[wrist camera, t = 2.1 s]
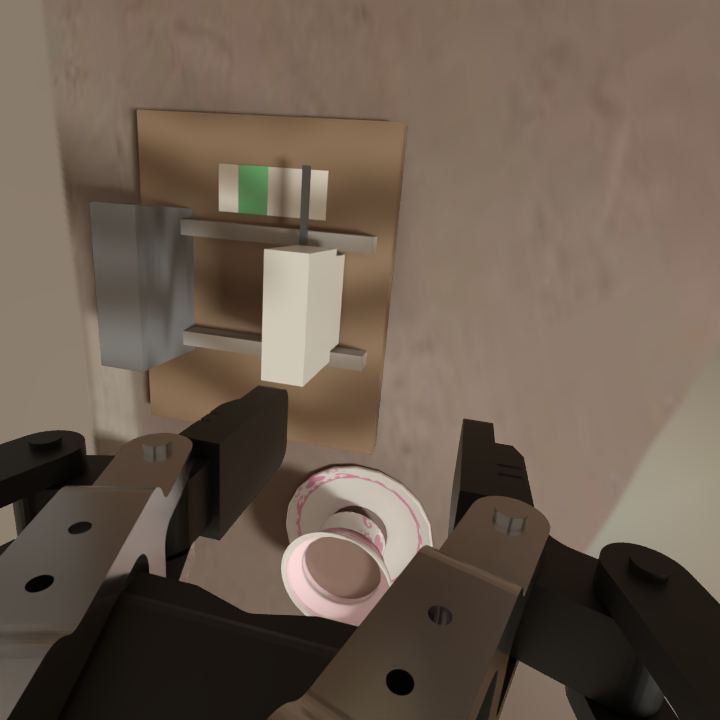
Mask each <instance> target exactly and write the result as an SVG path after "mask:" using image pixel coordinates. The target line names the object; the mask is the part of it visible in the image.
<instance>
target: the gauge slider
mask: <svg viewBox="0 0 720 720" xmlns="http://www.w3.org/2000/svg"><path fill="white" fill-rule="evenodd" d="M310 182H311V166H309V165H302V186H301V209H300V231H299V245H294V246H286V247H277V248H268V249H264V274H263V316H262V358H261V380H263V381H269V382H276V383H282V384H288V385H294V386H301V387H303V386H304V385H305V384H306V383H307V382H308V381H309V380H311V379H312V378H313V377H314V376H315V375H316V374H317V373H318V372H319V371H320V370H321V369H322V368H323V367H324V366H325V365H326V364H328V363H329V358H330V351H331V350H332V349H333V348H334V347H335V346H336V345H337V344H339V330H340V316H341V302H342V288H343V274H344V260H345V254H336V253H337V249H333V248H323V247H313V246H307V243H308V222H309V202H310Z"/></svg>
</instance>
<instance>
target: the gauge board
mask: <svg viewBox="0 0 720 720" xmlns="http://www.w3.org/2000/svg"><path fill="white" fill-rule="evenodd" d="M137 126H138V148H139V169H140V190H141V204H126V203H109V202H93V201H89V207H90V220H91V233H92V246H93V259H94V272H95V285H96V298H97V311H98V324H99V337H100V351H101V364H102V365H103V366H109V367H115V368H121V369H127V370H133V371H139V372H145V371H147V370H149V382H150V404H151V415H157V416H162V417H167V418H173V419H178V420H184V421H189V422H197V421H198V420H201V418H202V417H204V416H205V415H207V414H210V412H211V411H212V410H214V409H215V408H216V407H218V406H219V405H221V404H223V403H226V402H229V401H232V400H235V399H241V398H242V397H243V396H245V395H246V394H247V393H249V392H250V391H251V390H253V389H254V388H255V387H257V386H258V385H262V386H268V387H274V388H281V389H286V390H287V393H288V423H287V440H293V441H298V442H304V443H309V444H315V445H320V446H326V447H331V448H337V449H342V450H347V451H353V452H358V453H364V454H369V455H372V453H373V450H374V448H375V446H376V436H377V426H378V416H379V407H380V397H381V387H382V377H383V367H384V357H385V347H386V337H387V327H388V317H389V307H390V297H391V287H392V277H393V268H394V258H395V248H396V238H397V228H398V218H399V208H400V198H401V188H402V178H403V168H404V158H405V148H406V139H407V129H408V127H407V125H406V124H405V122H392V121H371V120H349V119H328V118H306V117H285V116H263V115H242V114H221V113H199V112H178V111H156V110H137ZM302 165H309V166H311V182H310V202H309V222H308V243H307V246H313V247H323V248H333V249H337V253H336V254H345V260H344V274H343V288H342V302H341V316H340V330H339V344H337V345H336V346H335V347H334V348H333V349H332V350H331V351H330V358H329V363H328V364H326V365H325V366H324V367H323V368H322V369H321V370H320V371H319V372H318V373H317V374H316V375H315V376H314V377H313V378H312V379H311V380H309V381H308V382H307V383H306V384H305V385H304V386H303V387H301V386H294V385H288V384H282V383H276V382H269V381H263V380H261V358H262V316H263V274H264V249H268V248H277V247H286V246H294V245H299V231H300V209H301V186H302Z"/></svg>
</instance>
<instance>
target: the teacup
mask: <svg viewBox="0 0 720 720" xmlns="http://www.w3.org/2000/svg"><path fill="white" fill-rule="evenodd" d="M347 506H360V507H364V508H367V509H369V510H371V511H372V512H374V513H376V514H377V515H378V516H379V518H380V519H381V520H382V521H383V523H384V525H385V527H386V531H387V541H386V545H385V540H384V536H383V534H382V532H381V530H380V529H379V527H378V526H377V525H376V524H375V523H374V522H373V521H372V520H370V519H369V518H367V517H365V516H364V515H361V514H358V513H355V512H339V513H336V512H337V511H338V510H339V509H341V508H344V507H347ZM334 513H336V514H334ZM286 528H287V533H288V538H289V542H290V544H289V545H288V547H287V548H286V550H285V552H284V554H283V557H282V562H281V575H282V580H283V583H284V586H285V589H286V591H287V593H288V595H289V597H290V598H291V600H292V601H293V602H294V604H295V605H296V606H297V607H298V609H299V610H300V611H301V612H302V613H303V614H305V615H306V616H319V617H323V618H327V619H331V620H335V621H339V622H342V623H346V624H350V625H354V626H358V627H359V625H360V624H361V623H362V622H363V620H364V619H365V618H366V617H367V615H368V614H369V613H370V611H371V610H372V609H373V608H374V606H375V605H376V604H377V603H378V601H379V600H380V599H381V598H382V596H383V595H384V594H385V593H386V591H387V590H388V589H389V587H390V586H391V585H392V584H393V582H394V581H395V580H396V579H397V577H398V576H399V575H400V574H401V572H402V571H403V570H404V569H405V567H406V566H407V565H408V563H409V562H410V561H411V560H412V558H413V557H414V556H415V555H416V553H417V552H418V551H419V550H420V549H421V548H422V547H423V546H424V545H429V546H431V547H432V546H433V542H432V534H431V527H430V522H429V520H428V518H427V516H426V514H425V512H424V510H423V508H422V506H421V504H420V502H419V501H418V500H417V499H416V498H415V497H414V496H413V494H412V493H411V492H410V491H409V490H408V489H407V488H406V487H405V486H404V485H403V484H401V483H400V482H398V481H396V480H395V479H393V478H391V477H389V476H388V475H386V474H384V473H383V472H380V471H377V470H373V469H369V468H365V467H361V466H334V467H331V468H328V469H326V470H323V471H320V472H317V473H315V474H313V475H312V476H311V477H310V478H308V479H307V480H306V481H305V482H304V483H302V484H301V485H300V486H299V487H298V489H297V490H296V492H295V494H294V496H293V498H292V500H291V501H290V503H289V505H288V512H287V519H286Z"/></svg>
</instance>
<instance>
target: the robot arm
mask: <svg viewBox="0 0 720 720" xmlns="http://www.w3.org/2000/svg"><path fill="white" fill-rule="evenodd" d="M287 423H288V393H287V390H286V389H281V388H274V387H268V386H262V385H258V386H257V387H255V388H254V389H253V390H251V391H250V392H249V393H247V394H246V395H245V396H243V397H242V398H241V399H235V400H232V401H229V402H226V403H223V404H221V405H219V406H218V407H216V408H215V409H214V410H212V411H211V412H210V414H207V415H205V416H204V417H202V418H201V420H198V421H197V422H195V423H194V424H192V425H191V426H190V427H188V428H187V429H185V430H184V431H182V432H181V433H180V434H172V433H157V434H149V435H145V436H141V437H138V438H135V439H133V440H131V441H129V442H128V443H126V444H125V445H124V446H123V447H122V448H121V450H120V451H119V452H118V453H117V455H116V456H104V455H86V445H85V438H84V437H83V436H82V435H81V434H79V433H77V432H72V431H65V430H64V431H63V430H61V431H60V430H56V431H45V432H39V433H35V434H31V435H27V436H24V437H21V438H19V439H15V440H12V441H9V442H6V443H3V444H1V445H0V508H2V507H4V506H7V505H9V504H11V503H13V509H14V515H15V522H16V529H17V536H18V537H17V538H16V539H14V540H12V541H10V542H8V543H6V544H4V545H2V546H0V720H499V719H500V716H501V713H502V710H503V707H504V704H505V701H506V698H507V696H508V692H509V690H510V687H511V684H512V681H513V678H514V675H515V672H516V669H517V666H518V664H519V661H521V662H523V663H525V664H527V665H529V666H530V667H532V668H534V669H536V670H538V671H539V672H541V673H543V674H545V675H547V676H549V677H551V678H553V679H554V680H556V681H558V682H560V683H562V684H564V685H565V689H566V695H567V698H568V700H569V703H570V705H571V707H572V709H573V711H574V713H575V716H576V718H577V720H720V604H719V603H718V602H717V601H716V600H715V599H714V598H713V597H712V596H711V595H710V594H709V593H708V592H707V590H706V589H705V588H704V587H703V586H702V585H701V584H700V583H699V582H698V581H697V580H696V579H695V578H694V577H693V576H692V575H691V574H690V573H689V572H688V571H687V570H686V569H685V568H684V567H682V566H681V565H680V564H678V563H677V562H676V561H674V560H672V559H671V558H669V557H667V556H666V555H663V554H662V553H660V552H657V551H655V550H652V549H650V548H647V547H644V546H641V545H636V544H631V543H612V544H609V545H606V546H605V547H604V548H603V549H602V550H601V552H600V556H599V559H596V558H593V557H591V556H589V555H586V554H584V553H581V552H579V551H576V550H574V549H571V548H569V547H567V546H565V545H563V544H562V543H560V542H558V541H557V540H555V539H554V538H552V537H551V536H550V535H549V532H550V524H549V522H548V520H547V519H546V517H545V516H544V515H543V514H542V513H541V512H540V511H538V510H537V509H536V508H534V504H533V500H532V495H531V490H530V485H529V481H528V476H527V471H526V466H525V461H524V457H523V456H522V455H521V454H520V453H519V452H518V451H517V450H516V449H515V448H514V447H513V446H510V445H504V444H498V443H495V439H494V428H493V423H488V422H482V421H476V420H470V419H463V424H462V430H461V436H460V442H459V449H458V455H457V462H456V468H455V474H454V481H453V488H452V497H451V507H450V519H449V531H448V538H447V540H446V541H445V542H444V544H443V545H442V547H441V548H440V549H439V550H438V549H435V548H433V547H431V546H429V545H424V546H423V547H422V548H421V549H420V550H419V551H418V552H417V553H416V555H415V556H414V557H413V558H412V560H411V561H410V562H409V563H408V565H407V566H406V567H405V569H404V570H403V571H402V572H401V574H400V575H399V576H398V577H397V579H396V580H395V581H394V582H393V584H392V585H391V586H390V587H389V589H388V590H387V591H386V593H385V594H384V595H383V596H382V598H381V599H380V600H379V601H378V603H377V604H376V605H375V606H374V608H373V609H372V610H371V611H370V613H369V614H368V615H367V617H366V618H365V619H364V620H363V622H362V623H361V624H360V625H359V627H358V626H354V625H350V624H346V623H342V622H339V621H335V620H331V619H327V618H323V617H319V616H295V615H268V614H251V613H247V612H245V611H242V610H240V609H239V608H237V607H235V606H233V605H231V604H230V603H228V602H226V601H224V600H222V599H221V598H219V597H217V596H215V595H213V594H211V593H210V592H208V591H206V590H204V589H202V588H201V587H199V586H197V585H194V584H190V583H186V581H187V578H188V575H189V572H190V569H191V566H192V563H193V560H194V556H195V540H196V539H197V538H198V537H199V536H203V537H207V538H212V539H216V540H221V538H222V537H223V536H224V535H225V533H226V532H227V531H228V530H229V528H230V527H231V526H232V525H233V523H234V522H235V521H236V520H237V519H238V517H239V516H240V515H241V514H242V512H243V511H244V510H245V509H246V507H247V506H248V505H249V504H250V502H251V501H252V500H253V499H254V497H255V496H256V495H257V494H258V493H259V491H260V490H261V489H262V488H263V486H264V485H265V484H266V483H267V481H268V480H269V479H270V478H271V476H272V475H273V474H274V473H275V471H276V470H277V469H278V468H279V466H280V465H281V463H282V461H283V458H284V455H285V451H286V445H287ZM664 696H665V697H666V698H667V700H668V701H669V703H670V704H671V706H672V707H673V709H674V711H675V712H676V714H677V716H678V717H677V716H676V714H675V713H674V712H673V710H672V708H671V707H670V706H669V704H668V703H667V701H666V699H665V698H664ZM678 718H679V719H678Z"/></svg>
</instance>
